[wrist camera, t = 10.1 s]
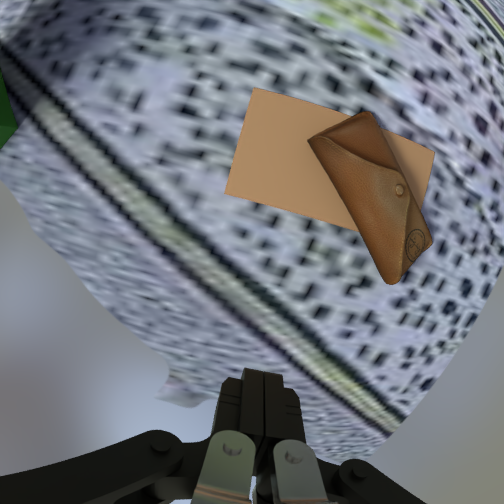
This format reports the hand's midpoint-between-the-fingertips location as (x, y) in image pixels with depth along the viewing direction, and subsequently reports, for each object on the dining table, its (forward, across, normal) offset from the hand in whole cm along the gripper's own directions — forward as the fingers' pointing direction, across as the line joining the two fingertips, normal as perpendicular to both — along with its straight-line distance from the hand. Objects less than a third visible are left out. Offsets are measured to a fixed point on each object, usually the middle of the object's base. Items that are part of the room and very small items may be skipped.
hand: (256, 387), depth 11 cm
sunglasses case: (+23, -11, -10) cm, 27 cm away
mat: (+23, -6, -11) cm, 26 cm away
